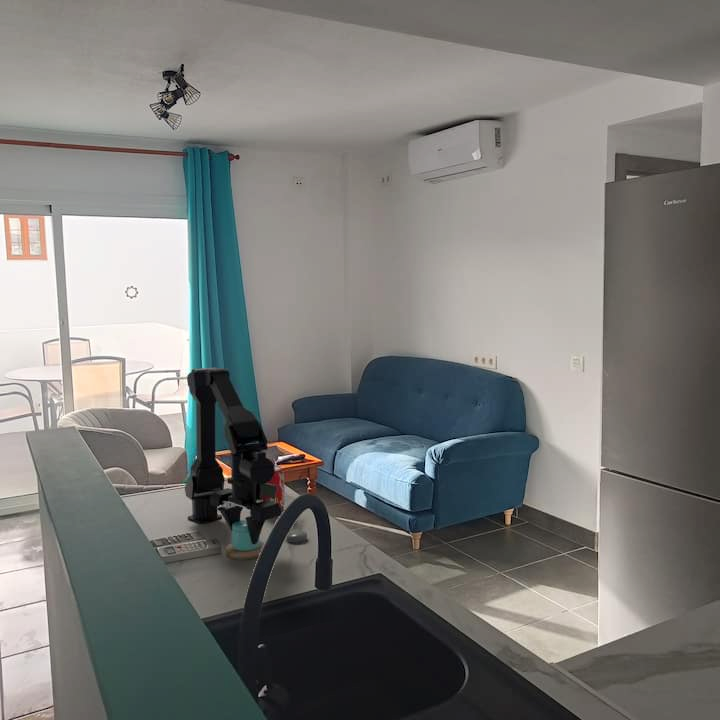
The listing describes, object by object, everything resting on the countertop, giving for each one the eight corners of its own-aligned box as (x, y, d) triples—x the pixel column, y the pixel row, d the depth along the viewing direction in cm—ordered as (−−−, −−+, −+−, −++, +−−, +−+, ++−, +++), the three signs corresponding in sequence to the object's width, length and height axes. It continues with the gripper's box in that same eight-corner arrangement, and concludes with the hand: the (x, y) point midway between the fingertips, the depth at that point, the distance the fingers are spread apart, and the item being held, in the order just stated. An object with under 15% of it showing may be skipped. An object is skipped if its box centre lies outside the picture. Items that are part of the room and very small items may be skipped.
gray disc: (281, 540, 171) (281, 534, 171) (297, 535, 174) (296, 529, 174) (296, 546, 167) (295, 539, 167) (311, 540, 171) (311, 534, 171)
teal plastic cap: (227, 546, 163) (226, 524, 162) (247, 538, 167) (247, 518, 167) (244, 552, 159) (243, 530, 158) (264, 544, 163) (264, 523, 163)
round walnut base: (217, 552, 163) (217, 543, 162) (248, 541, 169) (248, 532, 169) (243, 562, 157) (243, 553, 156) (274, 551, 163) (274, 541, 163)
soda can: (280, 516, 187) (279, 472, 186) (254, 515, 189) (253, 470, 187) (288, 508, 194) (287, 465, 193) (263, 506, 196) (262, 463, 194)
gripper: (299, 473, 161) (300, 540, 163) (245, 459, 173) (246, 522, 175) (261, 484, 153) (262, 554, 154) (207, 469, 165) (209, 534, 167)
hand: (245, 540), depth 163 cm, fingers closed on teal plastic cap, 6 cm apart
